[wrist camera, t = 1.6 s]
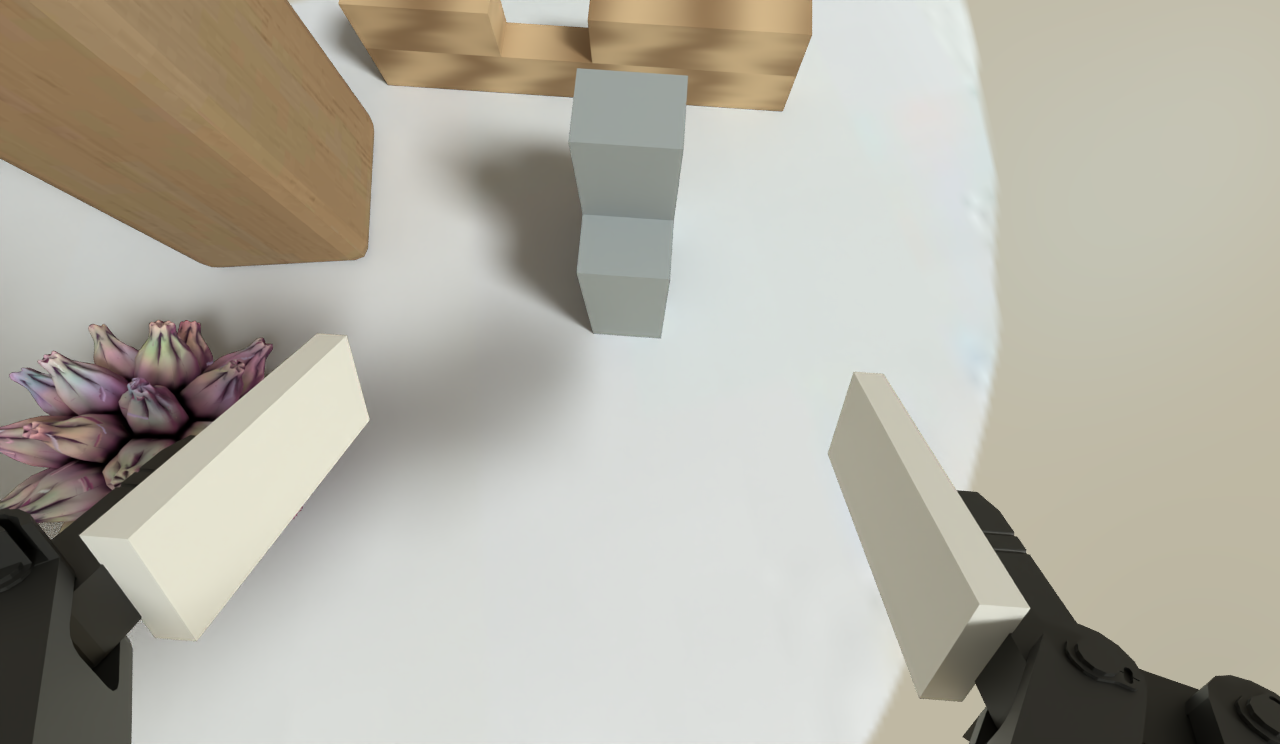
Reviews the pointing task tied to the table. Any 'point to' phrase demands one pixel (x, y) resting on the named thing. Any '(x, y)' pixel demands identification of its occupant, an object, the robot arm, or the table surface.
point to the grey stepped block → (627, 194)
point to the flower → (118, 413)
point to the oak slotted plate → (592, 46)
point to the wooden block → (190, 124)
